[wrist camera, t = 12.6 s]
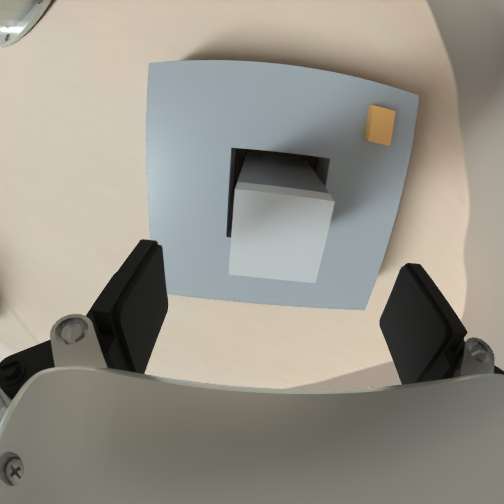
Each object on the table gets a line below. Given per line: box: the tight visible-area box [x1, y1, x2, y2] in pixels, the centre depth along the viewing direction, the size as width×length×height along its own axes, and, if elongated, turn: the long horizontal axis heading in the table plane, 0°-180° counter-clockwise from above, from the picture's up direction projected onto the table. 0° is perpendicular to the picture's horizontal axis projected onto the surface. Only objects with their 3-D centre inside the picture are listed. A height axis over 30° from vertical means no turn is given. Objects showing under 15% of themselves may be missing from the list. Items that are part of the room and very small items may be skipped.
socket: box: [146, 60, 419, 310], centre depth 20 cm, size 18×18×5 cm
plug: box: [229, 152, 335, 283], centre depth 18 cm, size 5×5×10 cm
